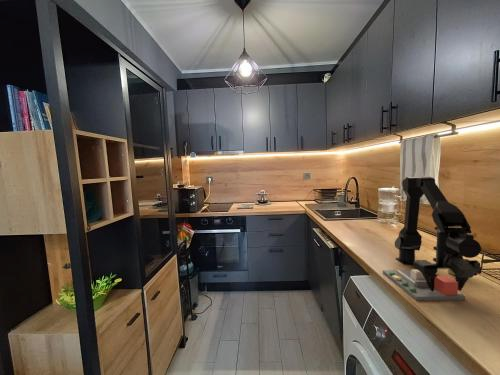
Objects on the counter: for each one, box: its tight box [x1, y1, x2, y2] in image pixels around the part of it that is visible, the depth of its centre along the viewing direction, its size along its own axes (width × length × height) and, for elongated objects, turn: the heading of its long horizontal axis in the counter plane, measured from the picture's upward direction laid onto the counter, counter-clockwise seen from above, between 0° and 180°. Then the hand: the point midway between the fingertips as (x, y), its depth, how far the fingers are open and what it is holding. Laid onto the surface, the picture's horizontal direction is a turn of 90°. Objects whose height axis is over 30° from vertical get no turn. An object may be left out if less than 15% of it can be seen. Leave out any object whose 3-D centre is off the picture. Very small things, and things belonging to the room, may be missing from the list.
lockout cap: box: [434, 275, 459, 295], centre depth 79 cm, size 4×4×4 cm
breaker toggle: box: [410, 269, 425, 281], centre depth 86 cm, size 3×4×4 cm
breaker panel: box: [382, 269, 466, 301], centre depth 87 cm, size 20×16×3 cm
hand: (445, 290), depth 80 cm, fingers open, 9 cm apart
